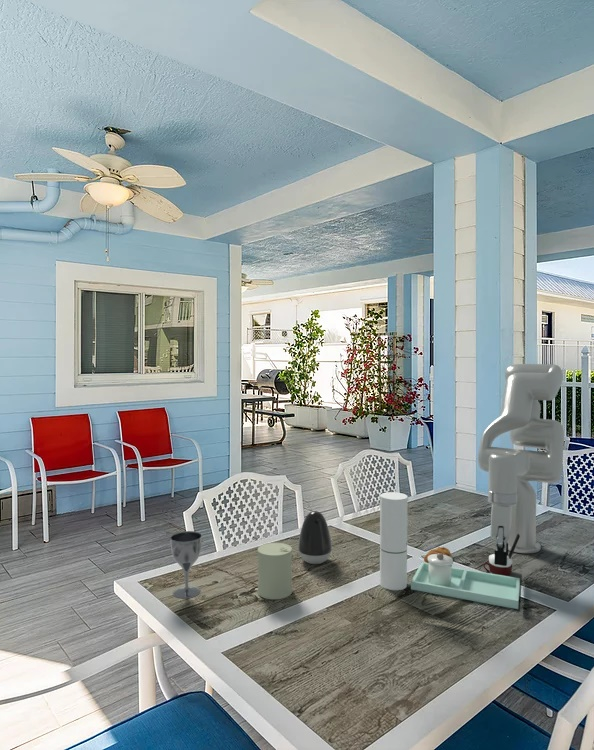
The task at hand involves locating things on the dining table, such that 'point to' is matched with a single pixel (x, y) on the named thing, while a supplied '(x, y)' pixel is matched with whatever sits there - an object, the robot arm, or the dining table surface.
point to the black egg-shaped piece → (315, 539)
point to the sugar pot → (440, 569)
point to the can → (274, 570)
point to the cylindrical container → (393, 540)
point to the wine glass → (186, 558)
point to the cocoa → (500, 568)
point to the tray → (472, 586)
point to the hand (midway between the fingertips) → (501, 559)
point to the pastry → (438, 550)
